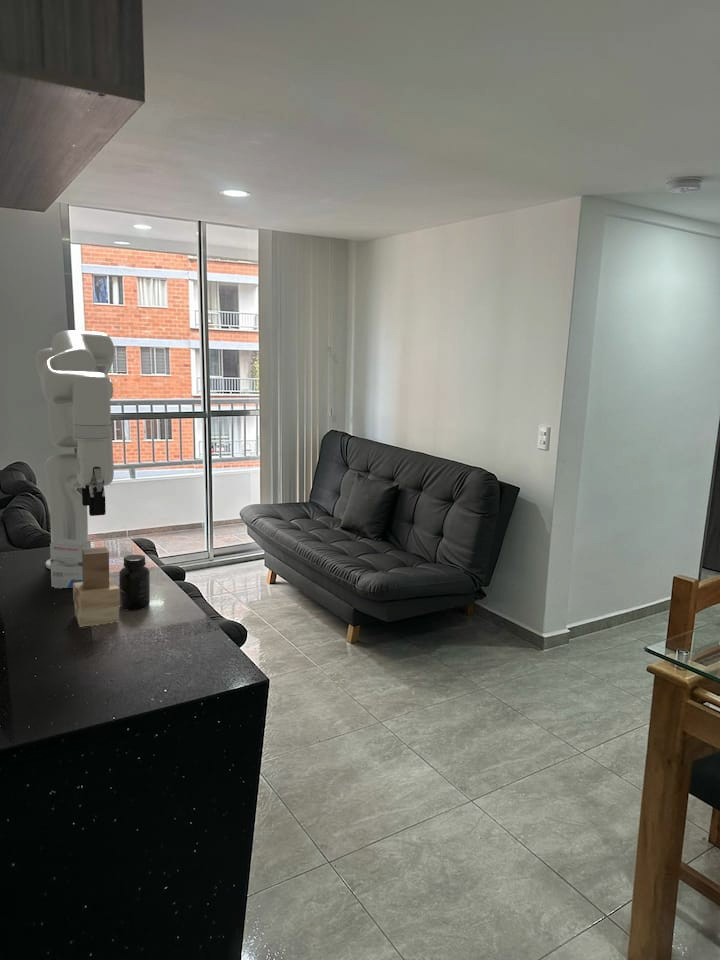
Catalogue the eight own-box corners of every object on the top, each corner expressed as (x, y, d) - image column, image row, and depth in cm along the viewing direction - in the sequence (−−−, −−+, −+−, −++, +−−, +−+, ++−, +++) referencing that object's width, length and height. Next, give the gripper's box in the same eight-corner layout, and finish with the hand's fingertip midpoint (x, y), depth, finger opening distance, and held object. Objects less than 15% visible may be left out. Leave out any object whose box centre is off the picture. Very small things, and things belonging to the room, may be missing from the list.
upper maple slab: (73, 600, 147) (72, 583, 146) (110, 594, 151) (109, 578, 151) (81, 611, 140) (81, 593, 140) (119, 605, 145) (119, 588, 144)
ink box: (92, 584, 169) (91, 540, 167) (82, 590, 164) (81, 545, 162) (61, 582, 170) (59, 538, 168) (50, 588, 165) (49, 542, 163)
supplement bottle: (113, 608, 153) (112, 559, 151) (130, 599, 159) (130, 551, 157) (139, 612, 151) (138, 562, 149) (155, 603, 158) (155, 555, 156)
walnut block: (82, 583, 146) (82, 548, 145) (106, 580, 149) (106, 546, 148) (85, 589, 142) (84, 554, 141) (109, 587, 144) (108, 552, 143)
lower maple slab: (74, 616, 148) (74, 599, 147) (112, 611, 152) (111, 594, 151) (79, 628, 141) (79, 611, 140) (118, 623, 145) (118, 606, 144)
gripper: (67, 427, 145) (69, 502, 148) (79, 438, 131) (81, 520, 134) (103, 427, 149) (104, 500, 152) (118, 437, 135) (119, 518, 138)
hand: (93, 510), depth 143 cm, fingers open, 9 cm apart
